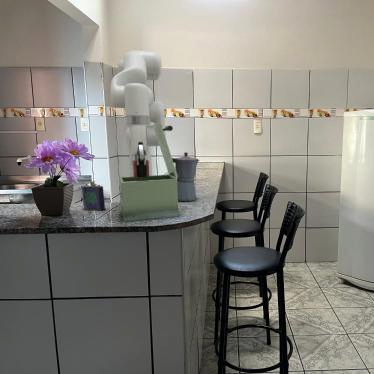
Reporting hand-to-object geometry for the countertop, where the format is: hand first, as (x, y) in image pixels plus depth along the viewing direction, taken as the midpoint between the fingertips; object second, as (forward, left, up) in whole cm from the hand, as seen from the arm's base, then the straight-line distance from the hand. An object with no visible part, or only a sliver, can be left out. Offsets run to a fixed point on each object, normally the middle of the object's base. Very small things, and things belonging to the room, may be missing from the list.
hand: (141, 175), depth 123 cm
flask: (-18, -16, -14) cm, 28 cm away
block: (0, 0, 0) cm, 0 cm away
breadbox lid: (0, +8, +8) cm, 11 cm away
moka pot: (-22, +19, -14) cm, 32 cm away
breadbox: (0, +2, -14) cm, 14 cm away
